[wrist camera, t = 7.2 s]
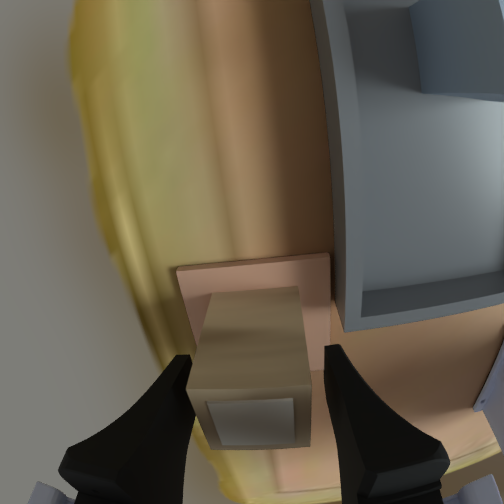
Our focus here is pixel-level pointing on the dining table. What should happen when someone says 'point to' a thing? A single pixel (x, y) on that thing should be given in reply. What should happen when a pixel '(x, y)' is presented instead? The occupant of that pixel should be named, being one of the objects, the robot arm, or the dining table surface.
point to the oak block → (253, 371)
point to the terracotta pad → (265, 277)
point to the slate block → (460, 47)
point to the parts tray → (406, 175)
